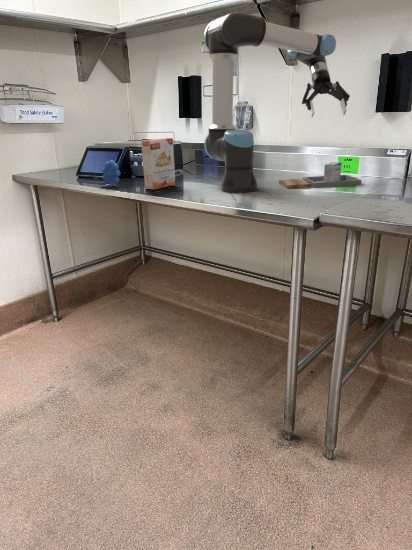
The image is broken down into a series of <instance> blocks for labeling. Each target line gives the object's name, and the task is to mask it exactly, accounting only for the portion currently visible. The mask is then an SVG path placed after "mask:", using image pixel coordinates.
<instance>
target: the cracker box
mask: <svg viewBox="0 0 412 550" xmlns="http://www.w3.org/2000/svg"><path fill="white" fill-rule="evenodd" d="M140 141H141V142H140V143H141V154H142V155H141V156H142V166H143V178H144V180H143V181H144V189H145V188H147V189H159V188H163V187H167V186H172V185H175V186H176V173H175V171H176V170H175V169H176V168H175V154H174V139H173V137H172V138H171V137H162V138H152V139H144V140H140Z"/></svg>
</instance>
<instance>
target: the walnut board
mask: <svg viewBox="0 0 412 550" xmlns="http://www.w3.org/2000/svg"><path fill="white" fill-rule="evenodd" d="M278 184H279V185H281V186H282V187H283V188H285V189H286V190H291V189H292V190H293V189H309V188H312V187H311V184H310V183H308V182H306V181H305V180H303V178H294V179H293V178H291V179H280V180H278Z"/></svg>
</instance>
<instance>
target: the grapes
mask: <svg viewBox="0 0 412 550" xmlns="http://www.w3.org/2000/svg"><path fill="white" fill-rule="evenodd" d="M103 166H104V167H103V168H101V172H102V173H103V175H102V180H103V181H105V185H107V184H115V185H116V184H118V183H119V182H120V178H119V177H120V176H121V171H120V170H119V164H118V163H115V161H114V160H112V159H110V160H109V161H105V163H104V165H103Z"/></svg>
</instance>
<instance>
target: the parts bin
mask: <svg viewBox="0 0 412 550" xmlns="http://www.w3.org/2000/svg"><path fill="white" fill-rule="evenodd" d="M302 179H303V180H305V181H306V182H308V183H310V184H311V188H313V189H315V188H316V189H317V188H334V187H335V188H336V187H348V186H349V187H351V186H361V185H362V179H359V178H357V177H354V176H351V175H349V174H341V175H340V181H331V182H324V175H317V176H316V175H315V176H302Z"/></svg>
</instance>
